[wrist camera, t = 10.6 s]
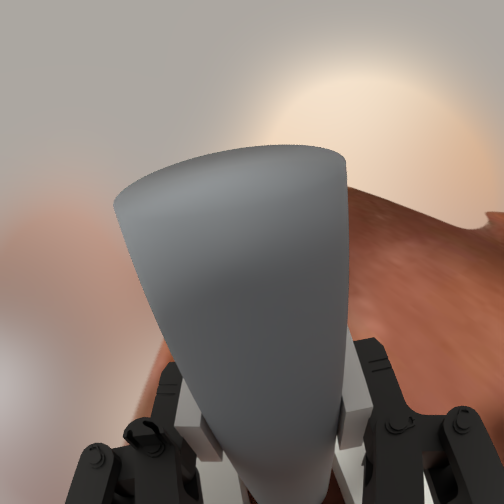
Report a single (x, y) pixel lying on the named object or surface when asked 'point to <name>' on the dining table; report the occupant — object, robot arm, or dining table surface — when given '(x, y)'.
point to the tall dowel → (252, 302)
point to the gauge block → (235, 491)
